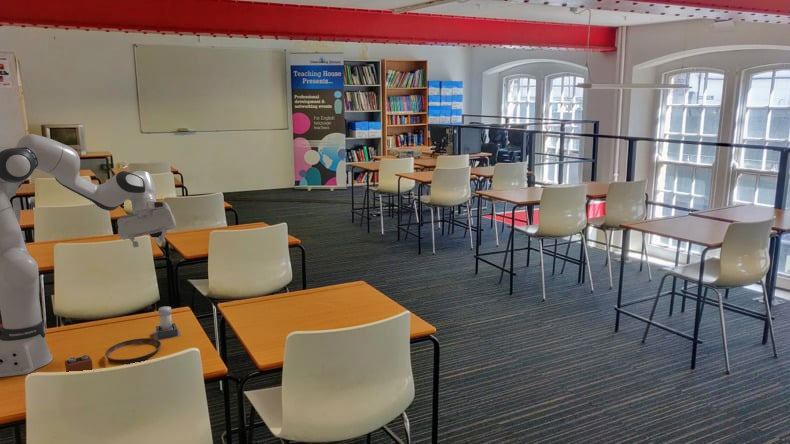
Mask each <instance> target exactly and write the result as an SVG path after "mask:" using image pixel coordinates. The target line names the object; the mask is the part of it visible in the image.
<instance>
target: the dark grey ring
mask: <svg viewBox="0 0 790 444" xmlns="http://www.w3.org/2000/svg"><path fill="white" fill-rule="evenodd" d="M137 344H140V345H141V344H149V345H153V346H156V347H157V349H156V350H154V351H151V352H150V353H148V354H145V355H142V356H137V357H133V358H125V359H121V358H111V357H109V356H110V354H111V353H113V352H114V351H116V350H118V349H120V348H123V347H127V346H132V345H137ZM161 347H162V342H161V340H156V339H155V338H148V337H143V338H132V339H130V340H129V339H128V340H125V341H122V342H119V343H116V344H113V345H112V346H110V347H109V348H108V349H107V350H106V351H105V353H104V354H105V357H106V358H107V359H108V360H109V361H111V362H115V363H119V364H123V365H124V364H126V365H131V364H130V363H135V362H139V363H141V362H140V361H143V362H145V360H146V361H147V360H149V359H150V357H153V356H154V355H157V353H158V352H159V351H160V349H161ZM135 364H136V363H135Z"/></svg>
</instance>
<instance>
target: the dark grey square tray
mask: <svg viewBox="0 0 790 444" xmlns="http://www.w3.org/2000/svg"><path fill="white" fill-rule="evenodd" d="M172 328H173V329H171V330H165V331H160V329H161V327H160V325H156V326H155V331H153V332H152V334H153V339H156V340H158V341H162V340H166V339H174V338H179V337H182V334H181V332H180V329H179V328H178V327H177V325H176V323H175V322H174V323H173V322H172Z"/></svg>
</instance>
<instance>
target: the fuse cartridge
mask: <svg viewBox="0 0 790 444" xmlns="http://www.w3.org/2000/svg"><path fill="white" fill-rule="evenodd" d="M157 311H158V316H159V326H160V327H161V329H160V331H165V330H171V329H173V328H172V324H173V322H172V321H173V320H172V319H173V318H172V313H173V312H172V307H171V306H161V307H158V310H157Z"/></svg>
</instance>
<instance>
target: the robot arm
mask: <svg viewBox="0 0 790 444" xmlns="http://www.w3.org/2000/svg"><path fill="white" fill-rule="evenodd" d="M80 168H81V158H80V155H79V153H78V152H77V150H75V149H74V148H73V147H71V146H69V145H67V144H64V143H62V142H59V141H58V140H55V139H52V138H49V137H46V136H42V135H38V134H35V133H29V134H25V135H23V136H22V137H21V138H20V139H19V141H18V142H17V143H16V146H14V147H3V146H2V147H0V315H1V322H2V323H0V378H3V377H13V376H21V375H27V374H30V373H32V372H33V371H35V370H38V369H40V368H43V367H44V366H47V365H48V364H50V363H52V361H53V359H54V357H53V355H52V353H51V351H50V349H49V345H48V342H47V339H46V334H47V333H46V326H45V325H46V324H45V321H44V319H43V318H42V307H41V303H40V276H39V274H40V272H39V265H38V262H37V260H36V259H35V258H34V257H32V256H31V254H30V252H29V251H28V249H27V245H26V242H25V239H24V236H23V233H22V228H21V226H20V223H19V221H18V218H17V215H16V213H15V211H14V208H13V205H12V203H11V201H10V199H9V197H8V185H9V184H16V183H17V184H18V183H21V182H24V181H25V180H27V179H28V178H29V177H31V175H32V174H33V172H34V170H40V171H42V172H44V173H46V174H49V175H50V176H52V177H54V179H55V180H56V182H57V183H58V184H60V185H61V186H62V187H64V188H65V189H68V190H69V191H71V192H73V193H74V194H75V193H76V194H78V196H81V197H82V198H85V199H87V200H89V201H90V202H92V203H93V204H95V205H96V206H97V207H98V208H99V209H102V210H104V211H110V212H111V211H114V210H117V209H118V208H119V207H120V206H121V205H122V204H123V203H124V202H126V201H130V202H131V208H132V213H128V214H126V215H121V216H120V217H119V218H118V219H117V221H116V223H117V235H118V237H119V238H120V239H121V240H123V241H124V240H128V239H129V241H131V243H132V247H133V248H134V249H135V248H138V247H139V246H140V245H139V242H138V241H137V240H136V241H135V239H136V238H138V237H143V236H147V235H151V234H156V233H161V232H162V233H161V235H159V236H158V238H159V239H158V240H159V242H165V241H166V239H165V237H166V236H167V233H168V231H169V230H173V229H174V230H175V229H176V227H177V222H176V218H175V216H174V214H173V213H172V209H171V207H170V205H169V204H168V203H167V202H166V201H157V199H156V195H157V193H156V191H157V190H156V185H155V181H154V178H153V177H152V175H151V174H150V172H148V171H147V170H146V171H145V170H135V171H133V172H130V171H126V170H125V171H124V170H121V171H119V172H117V173H116V174H114V175H112V177H110V178H109V179H107V181H105V182H103V183H101V184H100V183H99V184H95V183H93V182H91V181H89V180H88V179H85V178H84V177H82V176H80V175H79V172H80Z"/></svg>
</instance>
